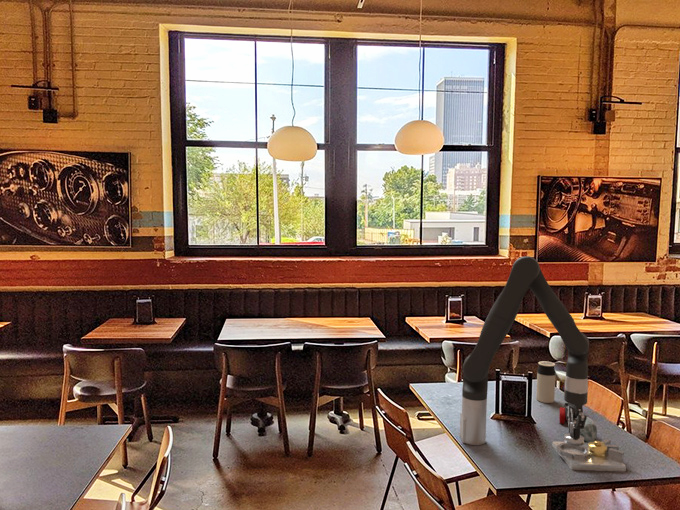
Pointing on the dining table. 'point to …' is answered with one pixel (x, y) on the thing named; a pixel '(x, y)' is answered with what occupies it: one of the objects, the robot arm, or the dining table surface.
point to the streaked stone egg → (588, 430)
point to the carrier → (591, 456)
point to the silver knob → (570, 440)
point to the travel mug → (545, 382)
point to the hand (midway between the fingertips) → (574, 435)
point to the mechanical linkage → (562, 415)
